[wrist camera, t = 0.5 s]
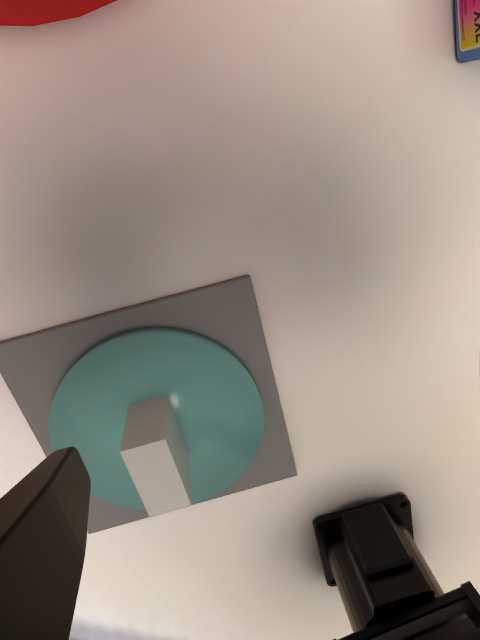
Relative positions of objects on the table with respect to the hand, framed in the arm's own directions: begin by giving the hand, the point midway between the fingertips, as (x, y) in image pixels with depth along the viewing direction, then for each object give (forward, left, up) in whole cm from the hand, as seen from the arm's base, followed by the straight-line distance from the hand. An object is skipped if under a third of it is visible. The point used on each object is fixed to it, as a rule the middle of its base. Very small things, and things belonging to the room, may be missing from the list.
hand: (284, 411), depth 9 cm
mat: (-7, +6, -12) cm, 15 cm away
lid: (-7, +6, -12) cm, 15 cm away
